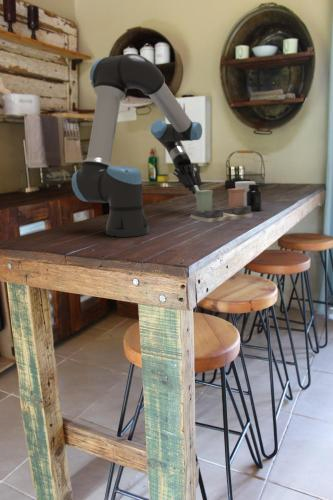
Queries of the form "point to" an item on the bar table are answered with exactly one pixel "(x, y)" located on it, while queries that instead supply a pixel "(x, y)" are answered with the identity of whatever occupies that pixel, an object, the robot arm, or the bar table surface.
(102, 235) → the bar table surface
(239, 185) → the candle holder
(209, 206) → the green container
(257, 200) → the supplement bottle
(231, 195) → the terracotta rectangular container
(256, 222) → the bar table surface
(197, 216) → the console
